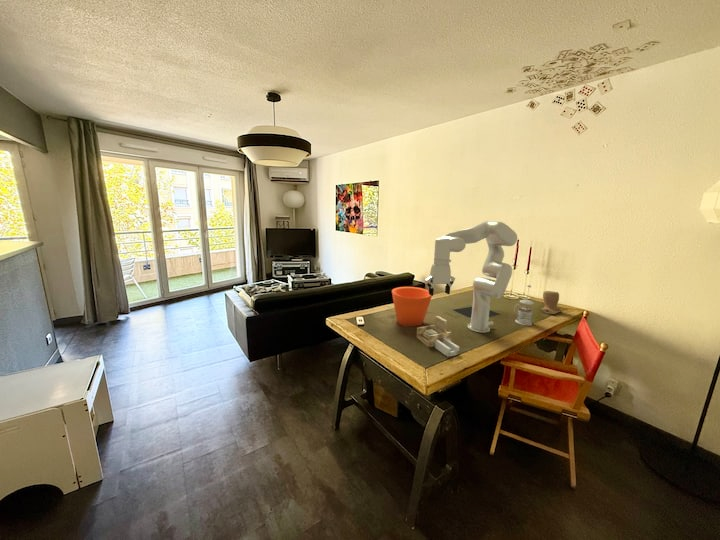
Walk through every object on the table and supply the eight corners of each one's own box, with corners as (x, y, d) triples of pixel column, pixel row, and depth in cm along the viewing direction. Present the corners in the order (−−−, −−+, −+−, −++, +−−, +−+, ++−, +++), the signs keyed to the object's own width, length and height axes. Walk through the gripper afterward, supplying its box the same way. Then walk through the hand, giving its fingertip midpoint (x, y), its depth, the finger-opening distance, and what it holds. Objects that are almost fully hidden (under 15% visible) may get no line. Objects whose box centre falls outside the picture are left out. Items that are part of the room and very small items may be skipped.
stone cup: (544, 307, 204) (547, 288, 201) (563, 312, 194) (566, 292, 191) (535, 311, 195) (538, 291, 192) (554, 316, 186) (557, 295, 183)
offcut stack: (430, 337, 148) (430, 328, 147) (437, 342, 142) (438, 333, 141) (422, 338, 146) (423, 329, 145) (429, 344, 140) (430, 334, 139)
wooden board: (436, 336, 150) (438, 315, 147) (444, 341, 143) (446, 320, 141) (433, 336, 149) (435, 316, 147) (441, 342, 143) (443, 321, 140)
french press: (535, 326, 168) (541, 287, 163) (514, 324, 171) (520, 286, 166) (528, 320, 178) (534, 283, 173) (509, 318, 180) (514, 282, 175)
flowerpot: (409, 312, 189) (411, 284, 184) (438, 324, 169) (441, 294, 164) (382, 319, 174) (383, 290, 170) (410, 333, 154) (412, 301, 150)
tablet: (473, 319, 176) (451, 309, 194) (473, 320, 176) (451, 310, 194) (501, 314, 187) (478, 305, 205) (501, 315, 187) (478, 306, 205)
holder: (444, 346, 140) (445, 337, 139) (458, 356, 131) (459, 346, 130) (433, 348, 138) (434, 339, 137) (447, 358, 128) (448, 349, 127)
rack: (437, 335, 153) (438, 324, 151) (450, 344, 143) (451, 332, 141) (416, 339, 147) (417, 327, 146) (428, 348, 137) (429, 336, 136)
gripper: (451, 260, 143) (449, 291, 147) (422, 261, 138) (420, 293, 142) (460, 262, 136) (457, 295, 140) (430, 264, 131) (428, 297, 135)
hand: (439, 294), depth 141 cm, fingers open, 9 cm apart
